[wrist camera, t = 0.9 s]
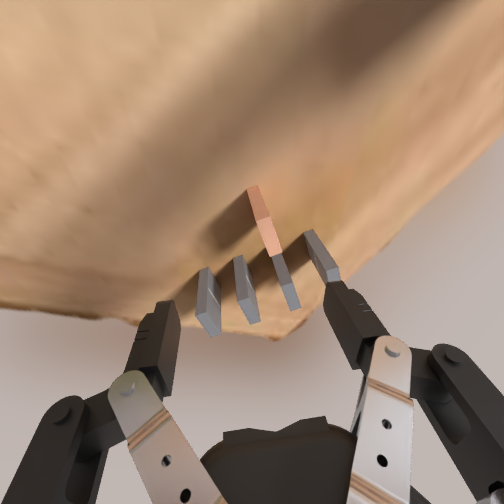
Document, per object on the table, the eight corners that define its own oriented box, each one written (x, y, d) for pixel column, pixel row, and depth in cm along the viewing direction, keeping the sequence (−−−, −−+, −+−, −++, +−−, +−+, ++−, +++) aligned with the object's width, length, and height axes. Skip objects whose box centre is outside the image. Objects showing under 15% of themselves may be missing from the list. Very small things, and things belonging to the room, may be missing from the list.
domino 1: (208, 266, 41) (206, 312, 33) (220, 287, 44) (221, 334, 35) (199, 270, 41) (195, 315, 33) (212, 290, 44) (211, 337, 35)
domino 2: (242, 254, 40) (248, 297, 32) (252, 276, 43) (260, 321, 35) (233, 258, 40) (237, 301, 32) (243, 279, 43) (250, 324, 35)
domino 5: (312, 229, 39) (338, 266, 31) (318, 253, 42) (343, 293, 34) (303, 232, 39) (326, 271, 31) (309, 256, 42) (332, 297, 34)
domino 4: (277, 242, 40) (292, 282, 31) (285, 265, 42) (301, 307, 34) (267, 245, 40) (280, 286, 32) (276, 268, 43) (290, 311, 34)
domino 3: (257, 185, 34) (270, 215, 26) (268, 215, 37) (282, 252, 29) (246, 189, 34) (255, 221, 26) (257, 219, 37) (269, 257, 29)
